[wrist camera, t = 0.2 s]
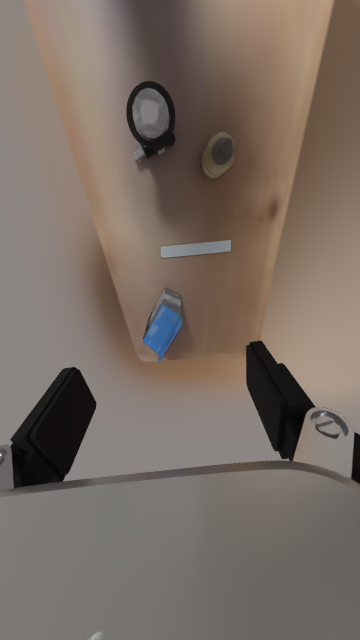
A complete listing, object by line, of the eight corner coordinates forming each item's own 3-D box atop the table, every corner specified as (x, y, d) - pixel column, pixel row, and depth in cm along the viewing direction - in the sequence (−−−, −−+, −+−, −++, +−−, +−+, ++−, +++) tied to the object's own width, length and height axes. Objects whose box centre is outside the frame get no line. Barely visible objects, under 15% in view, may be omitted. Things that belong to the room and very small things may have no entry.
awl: (200, 148, 30) (210, 120, 21) (226, 145, 30) (247, 116, 21) (201, 180, 32) (211, 166, 23) (225, 177, 32) (245, 163, 23)
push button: (144, 176, 32) (132, 161, 23) (125, 137, 30) (103, 104, 21) (181, 152, 30) (183, 126, 22) (164, 109, 28) (159, 61, 19)
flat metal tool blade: (160, 246, 37) (160, 246, 37) (230, 239, 36) (230, 239, 36) (161, 257, 38) (161, 258, 38) (230, 251, 37) (230, 251, 37)
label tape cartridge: (164, 286, 40) (160, 313, 29) (181, 295, 41) (183, 323, 30) (147, 320, 44) (137, 355, 33) (162, 327, 45) (158, 364, 34)
